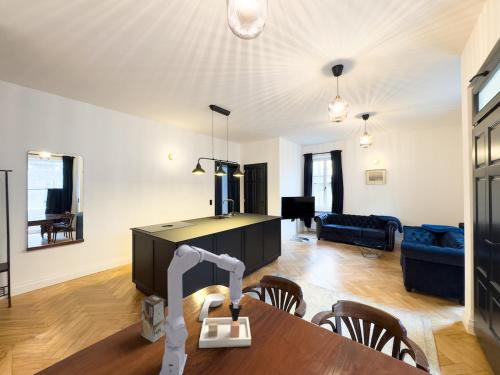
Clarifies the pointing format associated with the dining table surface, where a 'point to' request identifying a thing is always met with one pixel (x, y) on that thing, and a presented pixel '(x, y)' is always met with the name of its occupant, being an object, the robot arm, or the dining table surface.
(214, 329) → the maple block
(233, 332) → the terracotta block
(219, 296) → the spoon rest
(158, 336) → the coffee box
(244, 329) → the tray
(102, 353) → the dining table surface
